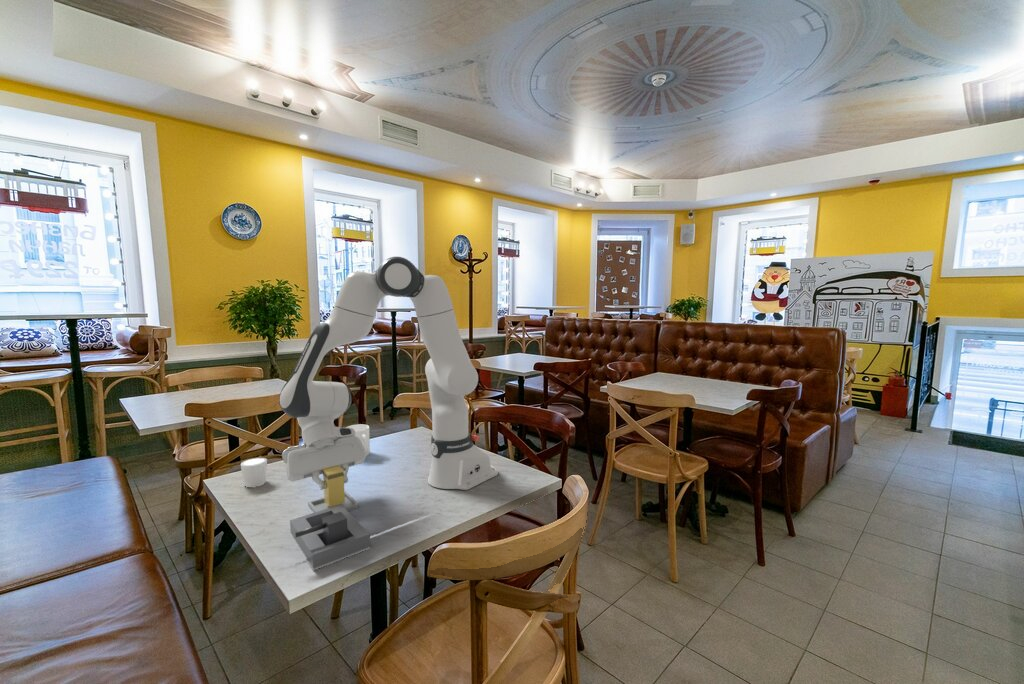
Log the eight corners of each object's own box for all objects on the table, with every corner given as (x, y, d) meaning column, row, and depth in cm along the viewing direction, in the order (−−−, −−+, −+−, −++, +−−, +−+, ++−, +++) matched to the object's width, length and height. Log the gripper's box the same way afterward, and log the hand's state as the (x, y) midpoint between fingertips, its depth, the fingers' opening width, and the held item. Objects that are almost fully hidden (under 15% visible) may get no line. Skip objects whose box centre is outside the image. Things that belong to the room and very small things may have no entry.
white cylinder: (255, 489, 123) (254, 466, 122) (236, 487, 124) (234, 464, 124) (273, 480, 130) (272, 458, 129) (254, 478, 131) (253, 456, 130)
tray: (345, 496, 119) (345, 491, 119) (359, 509, 112) (358, 504, 112) (308, 507, 113) (307, 502, 113) (319, 521, 105) (319, 516, 105)
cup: (363, 449, 157) (363, 422, 156) (378, 457, 149) (378, 430, 148) (341, 454, 152) (340, 427, 151) (356, 464, 143) (355, 435, 142)
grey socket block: (341, 517, 107) (341, 489, 107) (370, 548, 94) (369, 516, 93) (281, 537, 98) (279, 506, 98) (302, 575, 85) (301, 539, 84)
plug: (339, 497, 115) (338, 465, 114) (345, 502, 112) (343, 470, 111) (324, 501, 113) (322, 469, 112) (329, 507, 109) (327, 474, 109)
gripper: (281, 443, 109) (293, 492, 103) (359, 427, 122) (374, 469, 116) (278, 455, 113) (290, 502, 107) (354, 438, 126) (368, 479, 120)
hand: (334, 485), depth 111 cm, fingers closed on plug, 4 cm apart
